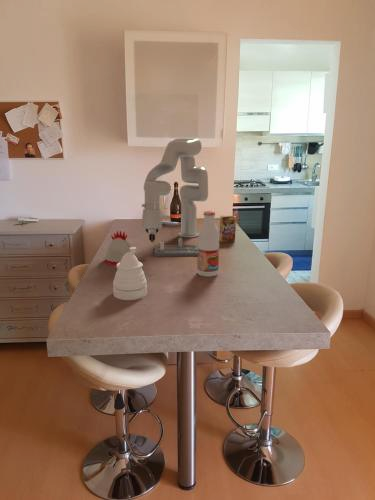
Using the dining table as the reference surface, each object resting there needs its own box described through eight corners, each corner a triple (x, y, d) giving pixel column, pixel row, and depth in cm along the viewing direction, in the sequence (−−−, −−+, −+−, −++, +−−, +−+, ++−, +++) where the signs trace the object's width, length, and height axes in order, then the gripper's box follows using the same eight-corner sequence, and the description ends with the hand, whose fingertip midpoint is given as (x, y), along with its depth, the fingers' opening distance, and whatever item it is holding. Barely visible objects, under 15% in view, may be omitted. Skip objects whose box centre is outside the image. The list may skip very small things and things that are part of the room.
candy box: (220, 242, 228) (221, 216, 224) (219, 240, 232) (219, 215, 228) (235, 242, 229) (236, 216, 225) (233, 240, 233) (234, 215, 229)
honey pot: (131, 285, 159) (130, 242, 154) (153, 292, 151) (153, 248, 146) (106, 294, 149) (104, 249, 144) (129, 302, 141) (127, 255, 136)
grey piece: (128, 266, 183) (127, 235, 179) (101, 264, 185) (99, 233, 181) (137, 257, 196) (137, 228, 192) (112, 255, 198) (111, 227, 194)
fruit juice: (203, 269, 180) (204, 209, 172) (221, 272, 175) (224, 211, 168) (193, 274, 172) (194, 212, 164) (212, 278, 167) (214, 214, 160)
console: (154, 247, 214) (154, 243, 213) (197, 247, 216) (197, 243, 215) (154, 256, 199) (154, 251, 198) (200, 255, 200) (201, 251, 200)
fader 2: (178, 245, 213) (178, 236, 211) (181, 245, 213) (182, 236, 212) (178, 246, 210) (178, 237, 209) (182, 246, 210) (182, 237, 209)
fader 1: (160, 249, 205) (160, 240, 204) (164, 249, 205) (164, 239, 204) (160, 250, 203) (160, 241, 201) (164, 250, 203) (164, 241, 202)
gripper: (136, 207, 193) (137, 243, 198) (166, 207, 194) (166, 243, 199) (137, 205, 200) (138, 239, 205) (166, 205, 202) (166, 239, 206)
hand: (152, 241), depth 202 cm, fingers closed
